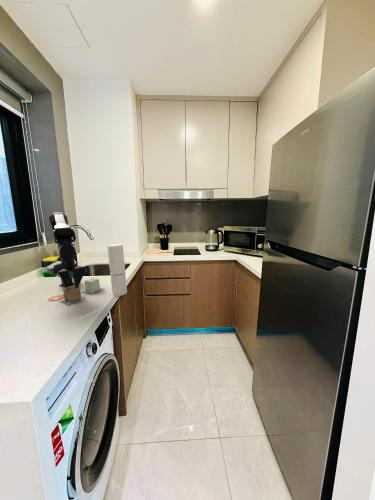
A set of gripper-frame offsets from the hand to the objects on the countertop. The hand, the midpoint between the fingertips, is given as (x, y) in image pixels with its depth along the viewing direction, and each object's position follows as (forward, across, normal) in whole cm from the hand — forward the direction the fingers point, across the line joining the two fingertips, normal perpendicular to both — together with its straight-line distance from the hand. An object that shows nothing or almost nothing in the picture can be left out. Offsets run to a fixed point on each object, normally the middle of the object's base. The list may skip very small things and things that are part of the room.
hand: (71, 286), depth 96 cm
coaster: (+7, -10, -2) cm, 12 cm away
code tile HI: (+7, -2, +12) cm, 14 cm away
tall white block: (+7, +14, +16) cm, 22 cm away
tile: (+7, 0, 0) cm, 7 cm away
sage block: (+7, -2, +12) cm, 14 cm away
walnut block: (+6, 0, 0) cm, 7 cm away
